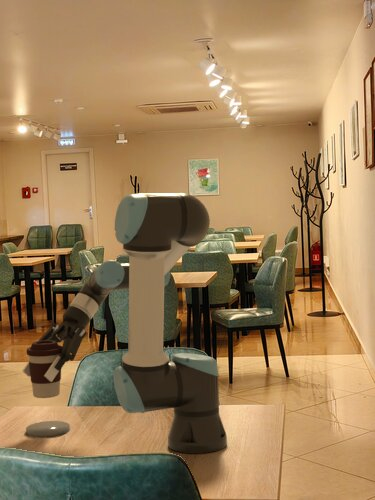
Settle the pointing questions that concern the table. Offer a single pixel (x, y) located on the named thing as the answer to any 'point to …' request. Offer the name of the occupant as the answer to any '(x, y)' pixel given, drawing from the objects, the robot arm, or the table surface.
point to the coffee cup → (44, 368)
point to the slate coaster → (47, 429)
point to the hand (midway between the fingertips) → (36, 376)
